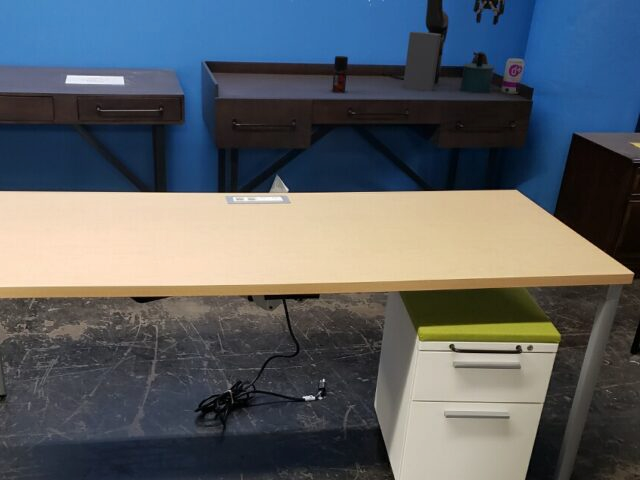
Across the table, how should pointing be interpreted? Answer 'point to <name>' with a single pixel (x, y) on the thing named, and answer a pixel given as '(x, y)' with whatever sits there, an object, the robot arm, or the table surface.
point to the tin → (476, 80)
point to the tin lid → (479, 64)
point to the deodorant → (340, 74)
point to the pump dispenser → (477, 58)
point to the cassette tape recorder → (421, 60)
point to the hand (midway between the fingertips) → (486, 23)
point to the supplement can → (512, 75)
